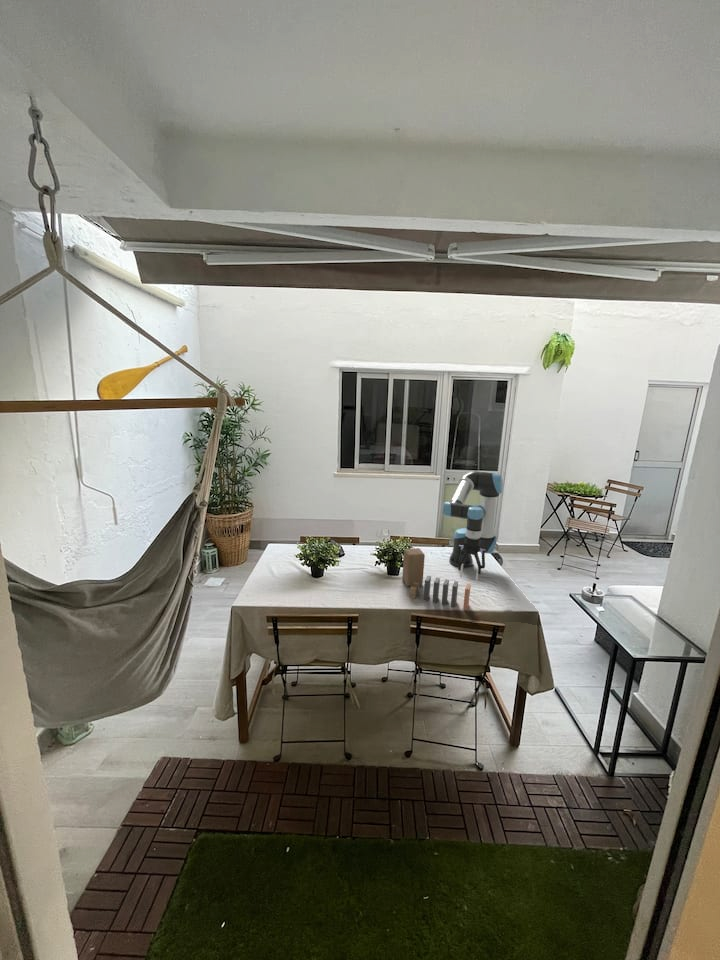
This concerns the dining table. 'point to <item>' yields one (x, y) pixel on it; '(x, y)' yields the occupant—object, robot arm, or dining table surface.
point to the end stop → (414, 590)
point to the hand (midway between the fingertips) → (468, 577)
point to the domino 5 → (466, 596)
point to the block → (413, 566)
